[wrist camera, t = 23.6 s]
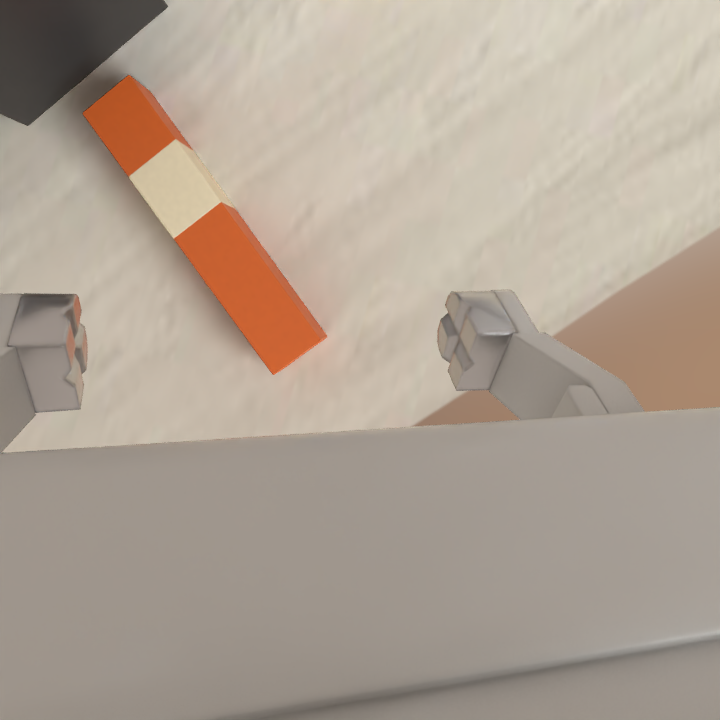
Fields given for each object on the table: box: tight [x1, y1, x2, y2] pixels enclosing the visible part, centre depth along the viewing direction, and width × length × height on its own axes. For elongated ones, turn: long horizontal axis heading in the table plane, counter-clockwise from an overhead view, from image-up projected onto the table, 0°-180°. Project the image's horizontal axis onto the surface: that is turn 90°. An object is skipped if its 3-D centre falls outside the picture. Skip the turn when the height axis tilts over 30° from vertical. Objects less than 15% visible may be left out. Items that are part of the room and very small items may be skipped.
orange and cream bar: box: [82, 75, 327, 375], centre depth 43 cm, size 21×4×4 cm, turn 36°
